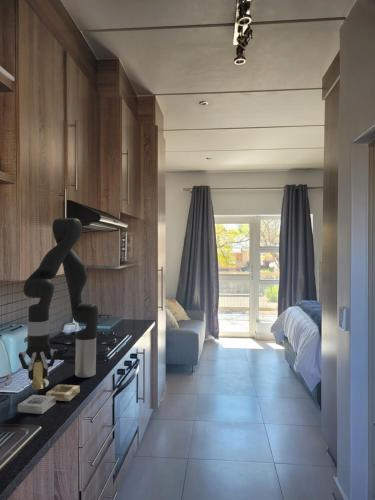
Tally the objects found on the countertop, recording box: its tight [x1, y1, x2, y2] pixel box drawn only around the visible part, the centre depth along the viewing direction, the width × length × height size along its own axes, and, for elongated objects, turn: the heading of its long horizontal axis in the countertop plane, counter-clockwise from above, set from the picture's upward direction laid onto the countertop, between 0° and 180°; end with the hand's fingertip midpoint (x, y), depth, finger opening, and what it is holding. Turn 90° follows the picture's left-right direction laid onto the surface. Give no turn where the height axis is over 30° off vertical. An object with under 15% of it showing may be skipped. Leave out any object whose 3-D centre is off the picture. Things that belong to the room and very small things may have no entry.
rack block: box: [45, 383, 81, 402], centre depth 145 cm, size 10×10×2 cm
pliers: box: [44, 372, 50, 388], centre depth 161 cm, size 10×2×15 cm
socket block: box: [17, 394, 57, 415], centre depth 134 cm, size 10×10×2 cm
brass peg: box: [31, 360, 45, 391], centre depth 134 cm, size 4×4×10 cm
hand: (38, 378), depth 134 cm, fingers closed on brass peg, 4 cm apart
